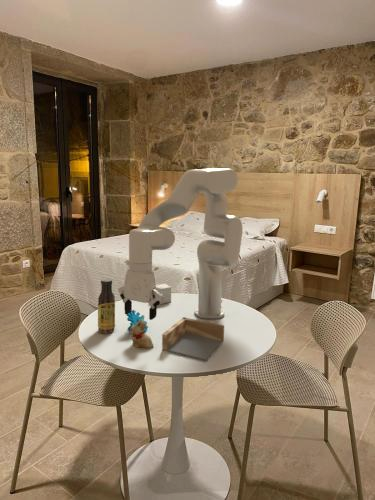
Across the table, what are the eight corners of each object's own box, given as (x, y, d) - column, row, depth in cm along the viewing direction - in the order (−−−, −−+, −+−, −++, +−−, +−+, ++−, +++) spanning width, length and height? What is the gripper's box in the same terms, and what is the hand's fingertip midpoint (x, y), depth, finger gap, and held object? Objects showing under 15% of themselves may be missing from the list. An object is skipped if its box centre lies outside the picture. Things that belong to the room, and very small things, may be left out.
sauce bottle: (100, 335, 134) (98, 283, 130) (96, 329, 140) (94, 278, 135) (118, 332, 137) (116, 281, 133) (113, 325, 143) (111, 276, 138)
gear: (141, 333, 133) (124, 312, 134) (130, 343, 134) (114, 321, 136) (153, 325, 143) (138, 305, 145) (143, 334, 145) (128, 314, 146)
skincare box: (165, 298, 174) (165, 283, 172) (171, 302, 169) (171, 286, 167) (153, 300, 171) (153, 285, 169) (159, 304, 166) (159, 288, 164)
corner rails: (183, 332, 138) (183, 317, 137) (223, 341, 132) (224, 325, 130) (162, 350, 124) (162, 334, 123) (206, 361, 117) (206, 344, 116)
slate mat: (183, 332, 138) (183, 330, 138) (223, 341, 132) (223, 339, 131) (162, 350, 124) (162, 348, 124) (206, 361, 117) (206, 359, 117)
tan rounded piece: (141, 339, 132) (141, 313, 130) (155, 347, 127) (155, 319, 124) (128, 344, 128) (128, 317, 126) (142, 352, 123) (141, 324, 121)
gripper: (112, 265, 121) (112, 314, 125) (157, 272, 114) (156, 324, 118) (125, 261, 128) (125, 307, 131) (169, 267, 121) (168, 317, 124)
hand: (140, 315), depth 125 cm, fingers open, 9 cm apart
